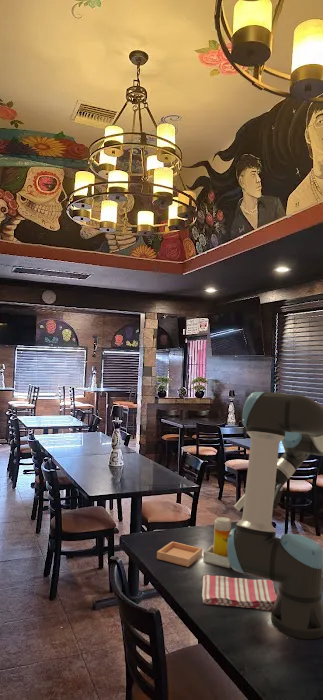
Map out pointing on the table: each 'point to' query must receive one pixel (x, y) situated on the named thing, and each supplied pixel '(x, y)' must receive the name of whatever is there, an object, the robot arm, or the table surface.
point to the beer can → (221, 535)
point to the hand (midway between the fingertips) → (245, 514)
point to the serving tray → (179, 553)
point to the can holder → (215, 558)
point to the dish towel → (238, 592)
